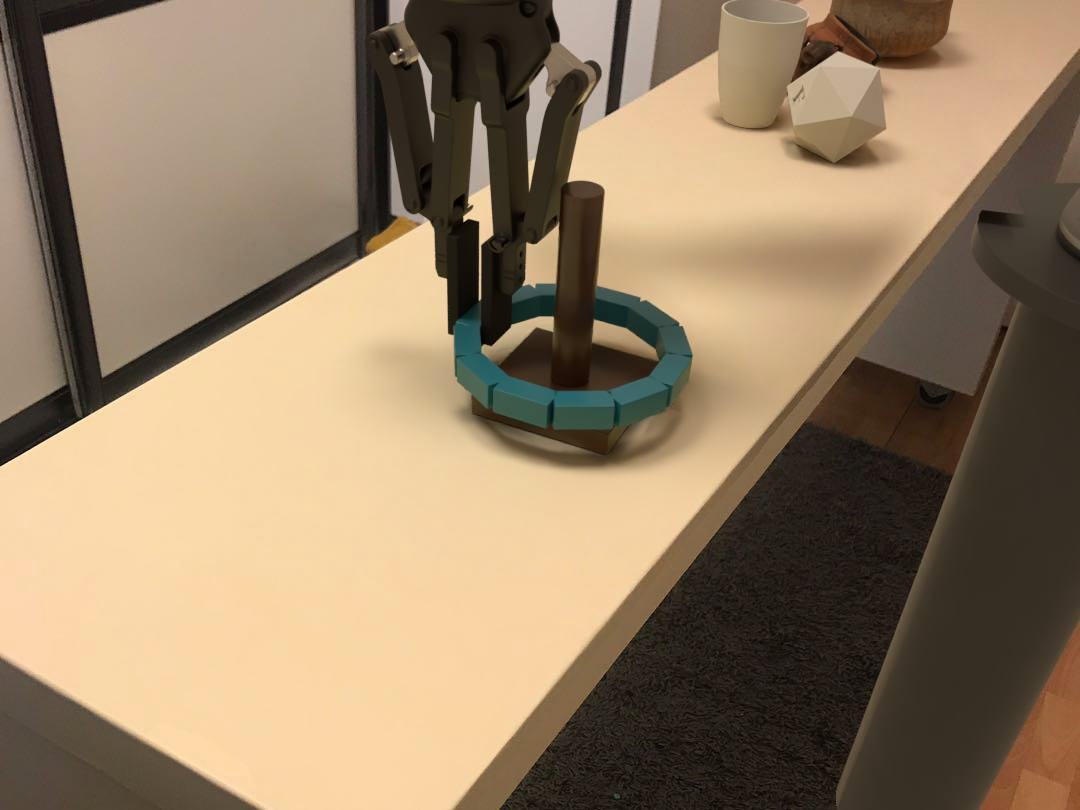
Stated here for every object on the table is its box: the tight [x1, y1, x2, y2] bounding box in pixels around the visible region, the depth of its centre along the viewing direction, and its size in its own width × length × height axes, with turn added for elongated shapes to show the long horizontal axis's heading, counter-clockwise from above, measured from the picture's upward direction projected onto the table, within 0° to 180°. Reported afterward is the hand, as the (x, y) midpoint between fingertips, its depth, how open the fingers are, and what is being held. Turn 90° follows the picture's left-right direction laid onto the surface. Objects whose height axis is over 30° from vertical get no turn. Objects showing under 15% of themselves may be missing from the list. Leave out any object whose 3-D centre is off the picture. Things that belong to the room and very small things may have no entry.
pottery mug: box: [787, 12, 883, 95], centre depth 111 cm, size 12×10×8 cm
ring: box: [453, 282, 694, 430], centre depth 65 cm, size 14×14×2 cm
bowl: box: [828, 0, 954, 58], centre depth 123 cm, size 18×14×10 cm
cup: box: [717, 0, 810, 129], centre depth 102 cm, size 8×8×10 cm
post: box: [471, 180, 659, 456], centre depth 62 cm, size 9×9×14 cm
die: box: [787, 51, 887, 164], centre depth 98 cm, size 8×9×10 cm
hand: (479, 329), depth 67 cm, fingers closed on ring, 2 cm apart
